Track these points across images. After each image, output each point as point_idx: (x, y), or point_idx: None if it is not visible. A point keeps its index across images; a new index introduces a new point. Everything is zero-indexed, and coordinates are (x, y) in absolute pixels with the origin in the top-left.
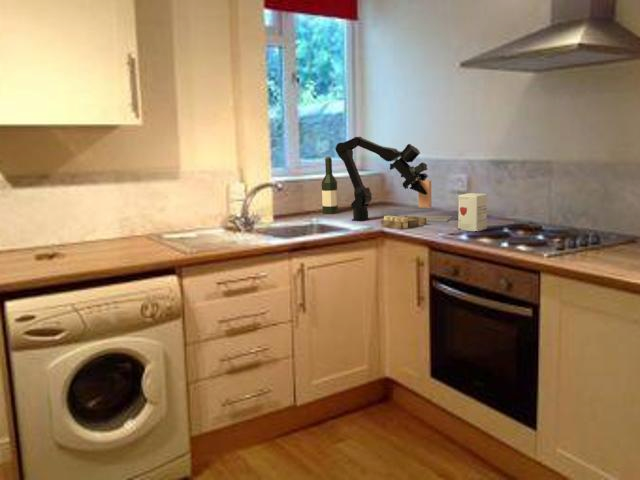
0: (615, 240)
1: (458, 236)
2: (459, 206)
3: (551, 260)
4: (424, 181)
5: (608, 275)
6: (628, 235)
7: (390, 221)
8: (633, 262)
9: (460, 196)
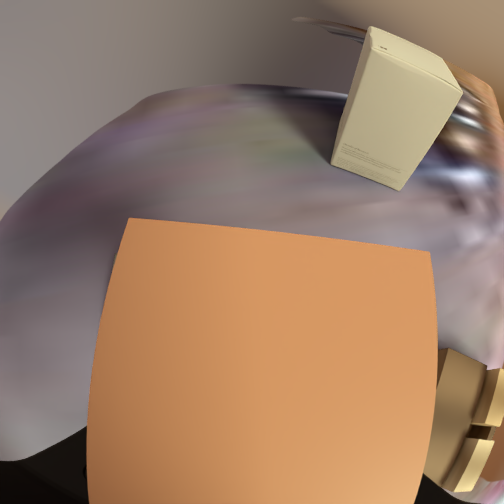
0: (358, 32)
1: (470, 186)
2: (441, 126)
3: (489, 103)
4: (417, 460)
5: (491, 90)
6: (316, 20)
7: (492, 437)
8: (447, 61)
9: (459, 91)
